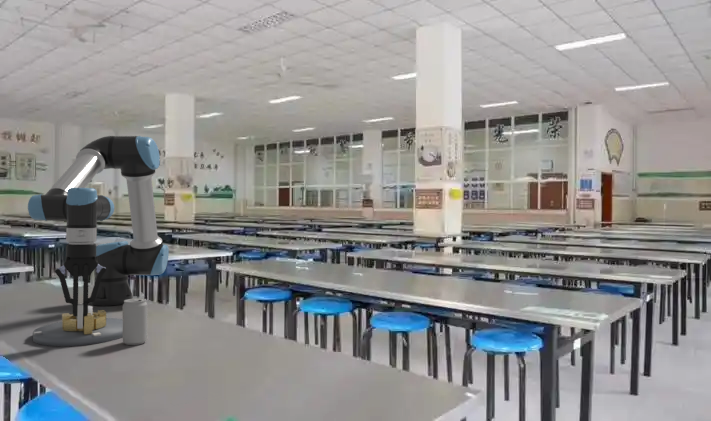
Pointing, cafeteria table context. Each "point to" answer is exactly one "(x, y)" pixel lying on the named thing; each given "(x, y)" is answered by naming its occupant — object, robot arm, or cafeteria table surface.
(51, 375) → the cafeteria table surface
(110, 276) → the robot arm
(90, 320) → the ring nut
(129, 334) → the beverage can
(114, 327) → the flange
